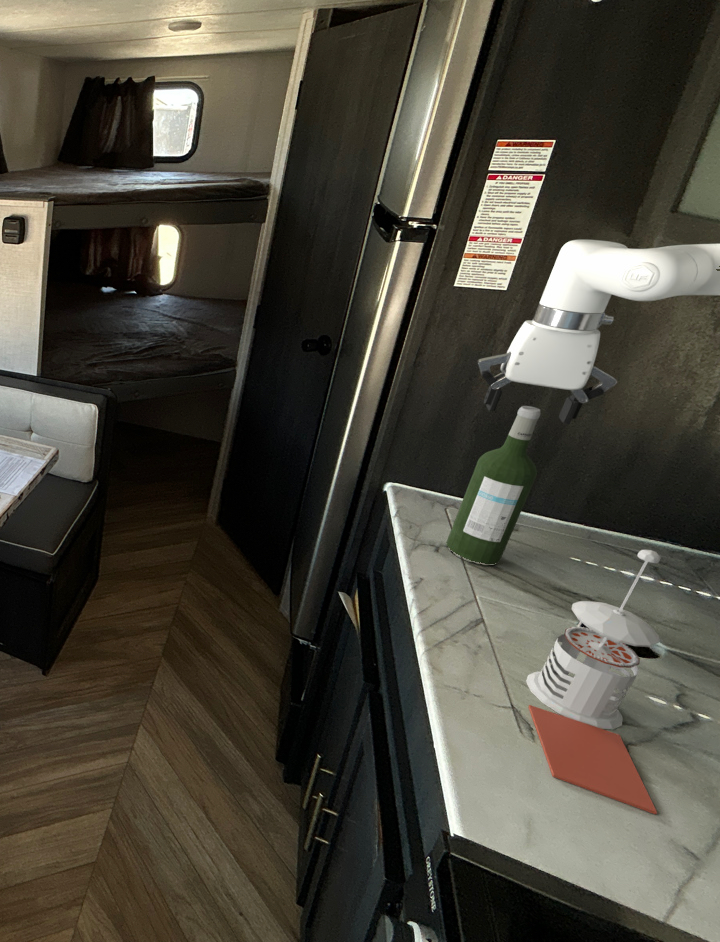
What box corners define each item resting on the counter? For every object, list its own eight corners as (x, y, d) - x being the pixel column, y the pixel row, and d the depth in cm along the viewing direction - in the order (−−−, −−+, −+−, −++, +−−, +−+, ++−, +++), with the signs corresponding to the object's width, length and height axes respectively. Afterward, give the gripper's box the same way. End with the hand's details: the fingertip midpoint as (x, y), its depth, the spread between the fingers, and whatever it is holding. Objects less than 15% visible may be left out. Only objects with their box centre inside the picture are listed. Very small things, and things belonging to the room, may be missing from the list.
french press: (529, 704, 87) (604, 555, 78) (521, 653, 96) (587, 514, 86) (631, 743, 81) (724, 587, 72) (612, 685, 90) (693, 540, 81)
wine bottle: (490, 547, 120) (551, 404, 109) (505, 571, 114) (571, 421, 102) (440, 537, 123) (493, 396, 112) (451, 559, 117) (509, 413, 105)
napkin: (618, 736, 82) (619, 734, 82) (656, 814, 73) (657, 812, 73) (528, 706, 87) (529, 704, 87) (552, 776, 77) (553, 774, 77)
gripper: (631, 321, 100) (587, 418, 107) (492, 306, 108) (459, 397, 115) (650, 333, 94) (602, 435, 101) (501, 316, 103) (465, 411, 109)
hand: (526, 414), depth 108 cm, fingers open, 9 cm apart
